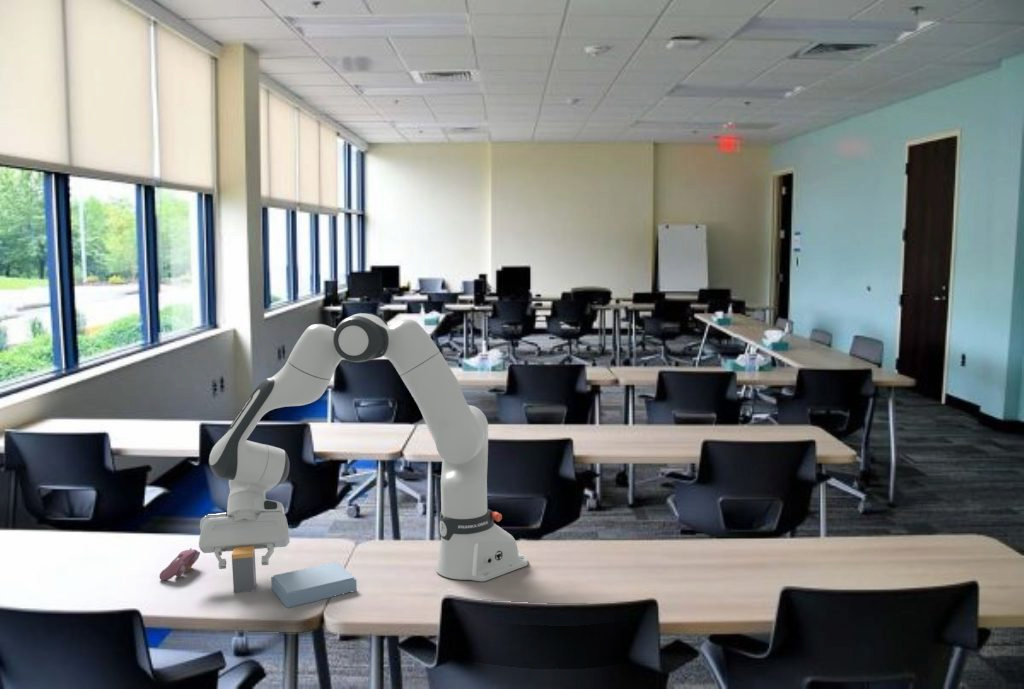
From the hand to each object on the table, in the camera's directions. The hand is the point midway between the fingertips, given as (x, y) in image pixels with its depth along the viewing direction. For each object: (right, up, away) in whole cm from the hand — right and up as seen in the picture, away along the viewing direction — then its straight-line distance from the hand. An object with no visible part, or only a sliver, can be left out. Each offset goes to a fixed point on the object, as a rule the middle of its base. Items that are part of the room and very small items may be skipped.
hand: (243, 566), depth 191 cm
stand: (+16, -5, -1) cm, 17 cm away
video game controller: (-18, -5, +9) cm, 21 cm away
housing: (0, -5, +1) cm, 5 cm away
